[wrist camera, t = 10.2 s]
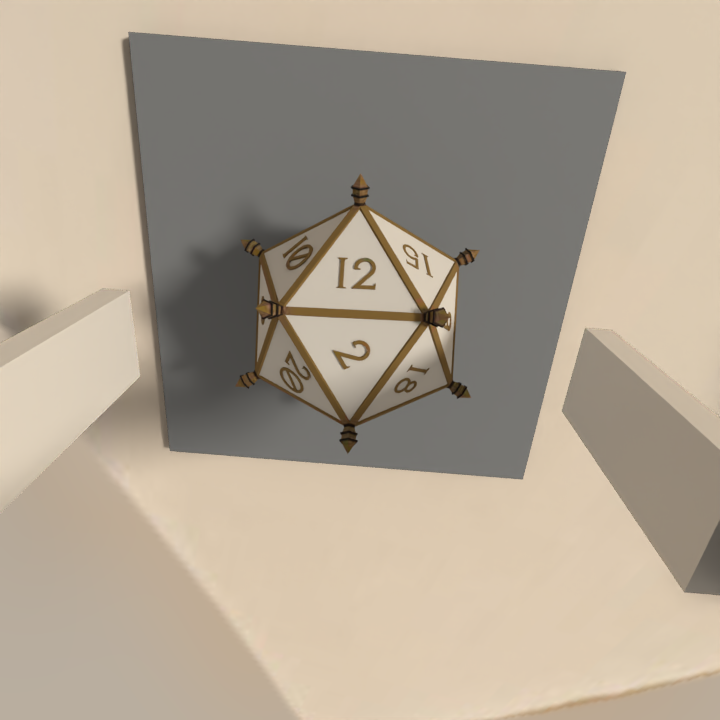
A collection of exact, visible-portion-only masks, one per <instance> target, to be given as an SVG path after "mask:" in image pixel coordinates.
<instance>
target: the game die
mask: <svg viewBox="0 0 720 720" xmlns="http://www.w3.org/2000/svg"><path fill="white" fill-rule="evenodd" d="M351 189H353V193H352V194H351V196H352V197H353V199H354V204H353V205H351V206H349V207H347V208H345V209H343V210H342V211H340V212H338V213H336V214H334V215H332V216H330V217H328V218H326V219H324V220H322V221H320V222H318V223H316V224H314V225H313V226H311V227H309V228H307V229H305V230H303V231H301V232H299V233H297V234H295V235H293V236H291V237H289V238H287V239H286V240H284V241H282V242H280V243H278V244H276V245H274V246H272V247H270V248H268V249H266V250H264V249H262V247H261V246H260V243H257V242H255V239H252V240H241V239H240V240H241V242H242V244H243V246H244V248H245V250H244V251H246V252H247V253H248V252H249V253H250V254H251V255H252V256H254V255H255V256H258V257H259V270H258V296H257V307H256V310H257V322H256V348H255V370H254V371H253V372H251V373H250V372H247V373H246V374H245V375H240V379H239V380H238V382H237V384H236V386H235V387H247V388H248V389H249V386H251V385H252V384H253V385H255V382H256V381H257V380H258V379H262V380H263V381H265V382H267V383H269V384H270V385H272V386H274V387H276V388H277V389H279V390H281V391H283V392H285V393H286V394H288V395H290V396H292V397H293V398H295V399H297V400H299V401H300V402H302V403H304V404H306V405H307V406H309V407H311V408H313V409H315V410H316V411H318V412H320V413H322V414H323V415H325V416H327V417H329V418H330V419H332V420H334V421H336V422H338V423H339V424H341V425H343V426H344V429H343V431H342V432H340V434H341V439H339V441H340V442H341V443H342V444H343V446H344V448H345V450H346V452H347V454H348V453H349V452H350V450H351V449H352V447H353V446H354V445H355V444H356V443H357V442H358V440H356V436H357V435H358V433H356V431H355V427H356V426H358V425H361V424H363V423H365V422H368V421H370V420H372V419H375V418H377V417H379V416H382V415H384V414H386V413H389V412H391V411H393V410H396V409H398V408H400V407H403V406H405V405H407V404H410V403H412V402H414V401H417V400H419V399H421V398H424V397H426V396H428V395H431V394H433V393H435V392H438V391H440V390H442V389H445V388H449V389H450V391H451V392H452V395H453V394H454V395H456V396H457V399H458V398H471V396H470V394H469V392H468V390H467V386H465V385H464V386H463V385H461V384H462V383H460V382H458V383H457V382H454V381H453V367H454V350H455V332H456V315H457V297H458V280H459V267H460V266H462V265H465V266H466V265H468V264H469V262H471V263H472V262H474V261H475V260H474V259H475V257H476V256H477V254H478V252H479V251H480V250H470V249H467V248H465V251H463V252H459V253H460V254H459V255H458V256H457V257H456V258H453V257H451V256H449V255H448V254H446V253H444V252H443V251H441V250H439V249H438V248H436V247H434V246H433V245H431V244H430V243H428V242H426V241H425V240H423V239H421V238H420V237H418V236H416V235H415V234H413V233H411V232H410V231H408V230H407V229H405V228H403V227H402V226H400V225H398V224H397V223H395V222H393V221H392V220H390V219H388V218H387V217H385V216H383V215H382V214H380V213H379V212H377V211H375V210H374V209H372V208H370V207H369V206H367V205H366V204H365V201H366V199H367V197H369V195H368V194H367V193H368V189H370V187H369V186H368V185H367V184H366V182H365V180H364V178H363V176H362V175H361V173H360V175H359V177H358V178H357V180H356V182H355V183H354V185H352V186H351Z"/></svg>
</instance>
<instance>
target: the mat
mask: <svg viewBox="0 0 720 720" xmlns="http://www.w3.org/2000/svg"><path fill="white" fill-rule="evenodd" d="M128 33H129V43H130V53H131V63H132V73H133V83H134V93H135V103H136V114H137V124H138V134H139V144H140V154H141V164H142V174H143V185H144V195H145V205H146V215H147V225H148V235H149V245H150V255H151V266H152V276H153V286H154V296H155V306H156V316H157V326H158V337H159V347H160V357H161V367H162V377H163V387H164V397H165V407H166V418H167V428H168V438H169V448H170V451H177V452H189V453H202V454H214V455H226V456H239V457H251V458H264V459H276V460H288V461H301V462H313V463H326V464H338V465H350V466H363V467H375V468H388V469H400V470H413V471H425V472H437V473H450V474H462V475H475V476H487V477H499V478H512V479H523V476H524V472H525V469H526V465H527V461H528V457H529V453H530V449H531V445H532V441H533V437H534V433H535V429H536V425H537V421H538V417H539V413H540V409H541V405H542V402H543V398H544V394H545V390H546V386H547V382H548V378H549V374H550V370H551V366H552V362H553V358H554V354H555V350H556V346H557V342H558V338H559V335H560V331H561V327H562V323H563V319H564V315H565V311H566V307H567V303H568V299H569V295H570V291H571V287H572V283H573V279H574V275H575V272H576V268H577V264H578V260H579V256H580V252H581V248H582V244H583V240H584V236H585V232H586V228H587V224H588V220H589V216H590V212H591V208H592V205H593V201H594V197H595V193H596V189H597V185H598V181H599V177H600V173H601V169H602V165H603V161H604V157H605V153H606V149H607V145H608V141H609V138H610V134H611V130H612V126H613V122H614V118H615V114H616V110H617V106H618V102H619V98H620V94H621V90H622V86H623V82H624V78H625V74H626V72H621V71H609V70H596V69H584V68H571V67H559V66H546V65H534V64H521V63H509V62H496V61H484V60H471V59H459V58H447V57H434V56H422V55H409V54H397V53H384V52H372V51H359V50H347V49H334V48H322V47H309V46H297V45H284V44H272V43H260V42H247V41H235V40H222V39H210V38H197V37H185V36H172V35H160V34H147V33H135V32H128ZM360 173H361V175H362V176H363V178H364V180H365V182H366V184H367V185H368V186H369V187H370V189H368V193H367V194H368V195H369V197H367V199H366V201H365V204H366V205H367V206H369V207H370V208H372V209H374V210H375V211H377V212H379V213H380V214H382V215H383V216H385V217H387V218H388V219H390V220H392V221H393V222H395V223H397V224H398V225H400V226H402V227H403V228H405V229H407V230H408V231H410V232H411V233H413V234H415V235H416V236H418V237H420V238H421V239H423V240H425V241H426V242H428V243H430V244H431V245H433V246H434V247H436V248H438V249H439V250H441V251H443V252H444V253H446V254H448V255H449V256H451V257H453V258H456V257H457V256H458V255H459V254H460V253H459V252H463V251H465V248H467V249H470V250H480V251H479V252H478V254H477V256H476V257H475V259H474V260H475V261H474V262H472V263H471V262H469V264H468V265H466V266H465V265H462V266H460V267H459V280H458V297H457V315H456V332H455V350H454V367H453V381H454V382H457V383H458V382H460V383H462V384H461V385H463V386H464V385H465V386H467V390H468V392H469V394H470V396H471V398H458V399H457V396H456V395H454V394H453V395H452V392H451V391H450V389H449V388H445V389H442V390H440V391H438V392H435V393H433V394H431V395H428V396H426V397H424V398H421V399H419V400H417V401H414V402H412V403H410V404H407V405H405V406H403V407H400V408H398V409H396V410H393V411H391V412H389V413H386V414H384V415H382V416H379V417H377V418H375V419H372V420H370V421H368V422H365V423H363V424H361V425H358V426H356V427H355V431H356V433H358V435H357V436H356V440H358V442H357V443H356V444H355V445H354V446H353V447H352V449H351V450H350V452H349V453H348V454H347V452H346V450H345V448H344V446H343V444H342V443H341V442H340V441H339V439H341V434H340V432H342V431H343V429H344V426H343V425H341V424H339V423H338V422H336V421H334V420H332V419H330V418H329V417H327V416H325V415H323V414H322V413H320V412H318V411H316V410H315V409H313V408H311V407H309V406H307V405H306V404H304V403H302V402H300V401H299V400H297V399H295V398H293V397H292V396H290V395H288V394H286V393H285V392H283V391H281V390H279V389H277V388H276V387H274V386H272V385H270V384H269V383H267V382H265V381H263V380H262V379H258V380H257V381H256V382H255V385H253V384H252V385H251V386H249V389H248V388H247V387H235V386H236V384H237V382H238V380H239V379H240V375H245V374H246V373H247V372H250V373H251V372H253V371H254V370H255V348H256V322H257V310H256V307H257V296H258V270H259V257H258V256H255V255H254V256H252V255H251V254H250V253H249V252H248V253H247V252H246V251H244V250H245V248H244V246H243V244H242V242H241V240H252V239H255V242H257V243H260V246H261V247H262V249H264V250H266V249H268V248H270V247H272V246H274V245H276V244H278V243H280V242H282V241H284V240H286V239H287V238H289V237H291V236H293V235H295V234H297V233H299V232H301V231H303V230H305V229H307V228H309V227H311V226H313V225H314V224H316V223H318V222H320V221H322V220H324V219H326V218H328V217H330V216H332V215H334V214H336V213H338V212H340V211H342V210H343V209H345V208H347V207H349V206H351V205H353V204H354V199H353V197H352V196H351V194H352V193H353V189H351V186H352V185H354V183H355V182H356V180H357V178H358V177H359V175H360ZM240 239H241V240H240Z"/></svg>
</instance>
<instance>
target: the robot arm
mask: <svg viewBox="0 0 720 720" xmlns="http://www.w3.org/2000/svg"><path fill="white" fill-rule="evenodd" d="M139 377H140V370H139V362H138V354H137V346H136V338H135V331H134V323H133V315H132V307H131V299H130V291H129V290H117V289H104V288H103V289H101V290H99V291H97V292H95V293H93V294H91V295H90V296H88V297H86V298H84V299H82V300H80V301H78V302H76V303H75V304H73V305H71V306H69V307H67V308H65V309H63V310H61V311H59V312H58V313H56V314H54V315H52V316H50V317H48V318H46V319H44V320H43V321H41V322H39V323H37V324H35V325H33V326H31V327H29V328H27V329H26V330H24V331H22V332H20V333H18V334H16V335H14V336H12V337H11V338H9V339H7V340H5V341H3V342H1V343H0V514H1V513H2V512H3V511H4V510H5V509H6V508H7V507H8V506H9V505H10V504H11V503H12V502H13V501H14V500H15V499H16V498H17V497H18V496H19V495H20V494H21V493H22V492H23V491H24V490H25V489H26V488H27V487H28V486H29V485H30V484H31V483H32V482H33V481H34V480H35V479H36V478H37V477H38V476H39V475H40V474H41V473H42V472H43V471H44V470H45V469H46V468H47V467H48V466H49V465H50V464H52V463H53V462H54V461H55V460H56V459H57V458H58V457H59V456H60V455H61V454H62V453H63V452H64V451H65V450H66V449H67V448H68V447H69V446H70V445H71V444H72V443H73V442H74V441H75V440H76V439H77V438H78V437H79V436H80V435H81V434H82V433H83V432H84V431H85V430H86V429H87V428H88V427H89V426H90V425H91V424H92V423H93V422H94V421H95V420H96V419H97V418H98V417H99V416H100V415H101V414H102V413H104V412H105V411H106V410H107V409H108V408H109V407H110V406H111V405H112V404H113V403H114V402H115V401H116V400H117V399H118V398H119V397H120V396H121V395H122V394H123V393H124V392H125V391H126V390H127V389H128V388H129V387H130V386H131V385H132V384H133V383H134V382H135V381H136V380H137V379H138V378H139ZM562 412H563V413H564V415H565V416H566V418H567V419H568V421H569V422H570V424H571V425H572V427H573V428H574V430H575V431H576V433H577V434H578V436H579V437H580V439H581V440H582V442H583V443H584V445H585V446H586V447H587V449H588V450H589V452H590V453H591V455H592V456H593V458H594V459H595V461H596V462H597V464H598V465H599V467H600V468H601V470H602V471H603V473H604V474H605V476H606V477H607V479H608V480H609V482H610V483H611V484H612V486H613V487H614V489H615V490H616V492H617V493H618V495H619V496H620V498H621V499H622V501H623V502H624V504H625V505H626V507H627V508H628V510H629V511H630V513H631V514H632V516H633V517H634V519H635V520H636V522H637V523H638V524H639V526H640V527H641V529H642V530H643V532H644V533H645V535H646V536H647V538H648V539H649V541H650V542H651V544H652V545H653V547H654V548H655V550H656V551H657V553H658V554H659V556H660V557H661V559H662V560H663V561H664V563H665V564H666V566H667V567H668V569H669V570H670V572H671V573H672V575H673V576H674V578H675V579H676V581H677V582H678V584H679V585H680V587H681V588H682V590H683V591H684V592H688V593H700V594H712V595H720V417H719V416H717V415H716V414H715V413H714V412H713V411H711V410H710V409H709V408H708V407H706V406H705V405H704V404H703V403H701V402H700V401H699V400H698V399H697V398H695V397H694V396H693V395H692V394H690V393H689V392H688V391H687V390H685V389H684V388H683V387H682V386H681V385H679V384H678V383H677V382H676V381H674V380H673V379H672V378H671V377H669V376H668V375H667V374H666V373H665V372H663V371H662V370H661V369H660V368H658V367H657V366H656V365H655V364H653V363H652V362H651V361H650V360H649V359H647V358H646V357H645V356H644V355H642V354H641V353H640V352H639V351H637V350H636V349H635V348H634V347H632V346H631V345H630V344H629V343H628V342H626V341H625V340H624V339H623V338H621V337H620V336H619V335H618V334H616V333H615V332H614V331H613V330H607V329H595V328H585V331H584V334H583V338H582V341H581V345H580V348H579V352H578V356H577V359H576V363H575V366H574V370H573V373H572V377H571V380H570V384H569V387H568V391H567V395H566V398H565V402H564V405H563V409H562Z"/></svg>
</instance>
